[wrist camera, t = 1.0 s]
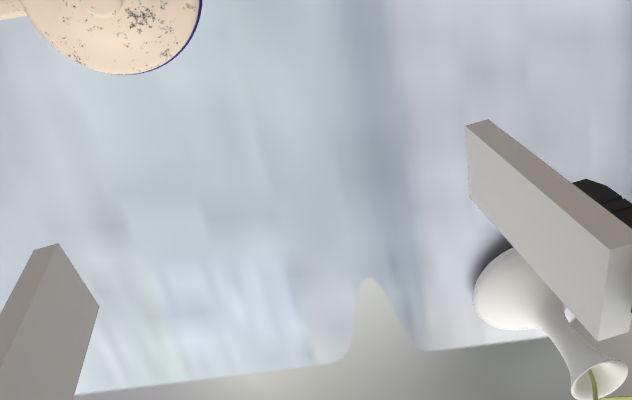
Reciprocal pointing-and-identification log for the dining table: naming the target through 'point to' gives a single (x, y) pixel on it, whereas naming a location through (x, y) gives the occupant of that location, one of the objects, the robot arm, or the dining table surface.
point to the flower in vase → (544, 323)
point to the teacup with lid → (112, 30)
